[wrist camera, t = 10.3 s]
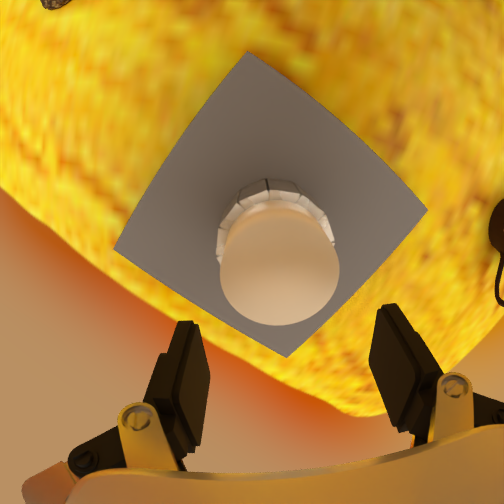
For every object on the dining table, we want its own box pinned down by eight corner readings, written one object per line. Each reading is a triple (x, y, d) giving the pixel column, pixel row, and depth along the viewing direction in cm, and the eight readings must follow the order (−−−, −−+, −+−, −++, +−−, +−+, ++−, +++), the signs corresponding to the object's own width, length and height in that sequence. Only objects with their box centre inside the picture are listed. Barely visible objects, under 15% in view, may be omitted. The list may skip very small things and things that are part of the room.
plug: (311, 183, 23) (341, 214, 15) (313, 261, 26) (336, 320, 18) (226, 190, 23) (212, 224, 15) (235, 267, 26) (227, 328, 18)
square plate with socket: (247, 55, 20) (245, 34, 15) (420, 205, 25) (455, 226, 19) (119, 242, 27) (91, 271, 21) (285, 348, 31) (290, 390, 26)
